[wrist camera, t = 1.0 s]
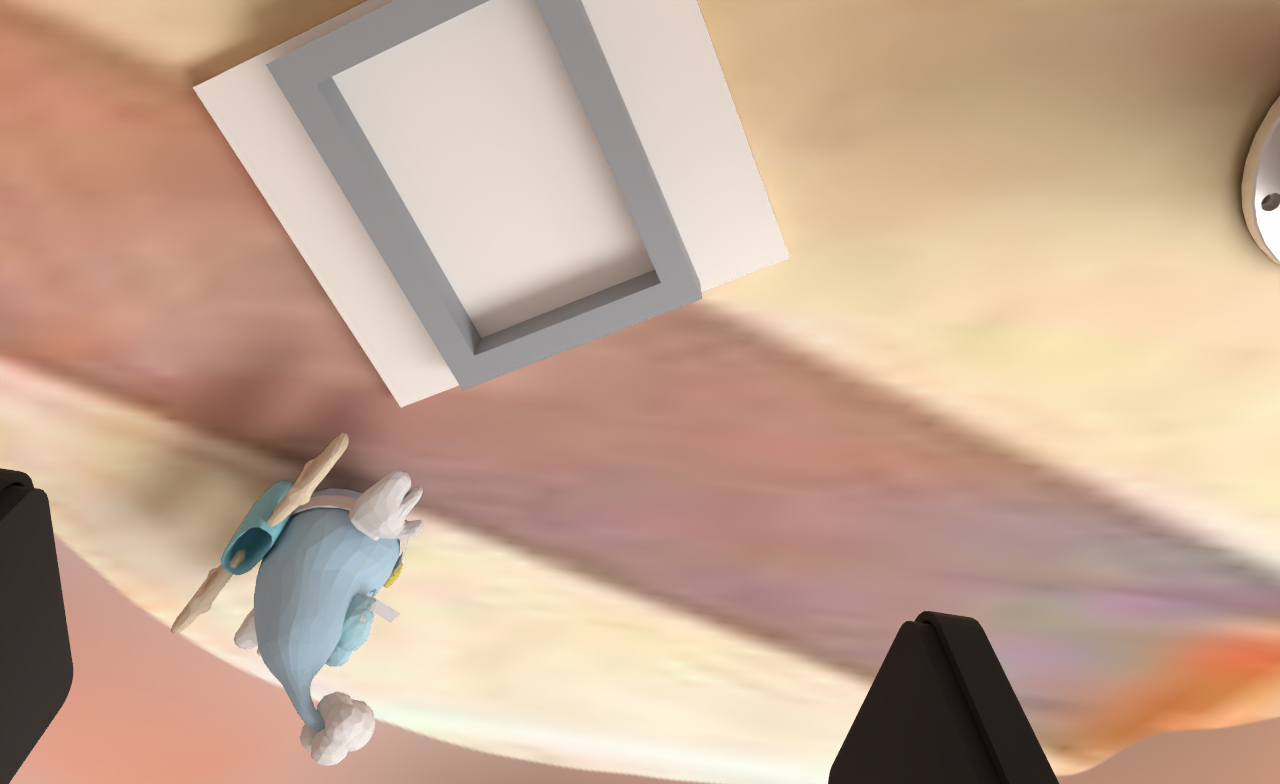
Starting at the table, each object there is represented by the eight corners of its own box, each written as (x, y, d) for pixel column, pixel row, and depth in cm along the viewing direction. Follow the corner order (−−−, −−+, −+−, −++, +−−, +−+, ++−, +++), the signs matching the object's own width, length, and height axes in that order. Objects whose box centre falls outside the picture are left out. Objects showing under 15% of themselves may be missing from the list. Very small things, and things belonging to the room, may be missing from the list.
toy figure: (352, 635, 57) (262, 855, 44) (208, 549, 53) (64, 759, 40) (512, 483, 51) (463, 686, 38) (360, 375, 47) (249, 557, 34)
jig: (646, -139, 35) (645, -142, 33) (787, 250, 43) (795, 273, 41) (202, 83, 40) (171, 96, 37) (405, 398, 48) (391, 427, 45)
